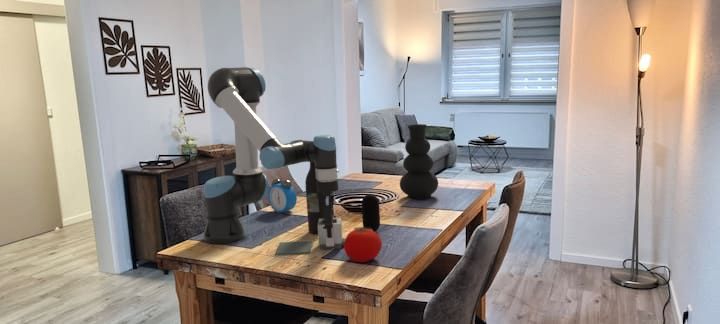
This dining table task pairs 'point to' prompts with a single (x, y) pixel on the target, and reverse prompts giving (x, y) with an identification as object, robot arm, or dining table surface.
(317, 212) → the wine bottle
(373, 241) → the tomato
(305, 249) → the rubber mat
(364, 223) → the decorative object
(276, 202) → the alarm clock
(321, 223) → the white block
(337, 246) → the post
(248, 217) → the dining table surface
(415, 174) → the vase
